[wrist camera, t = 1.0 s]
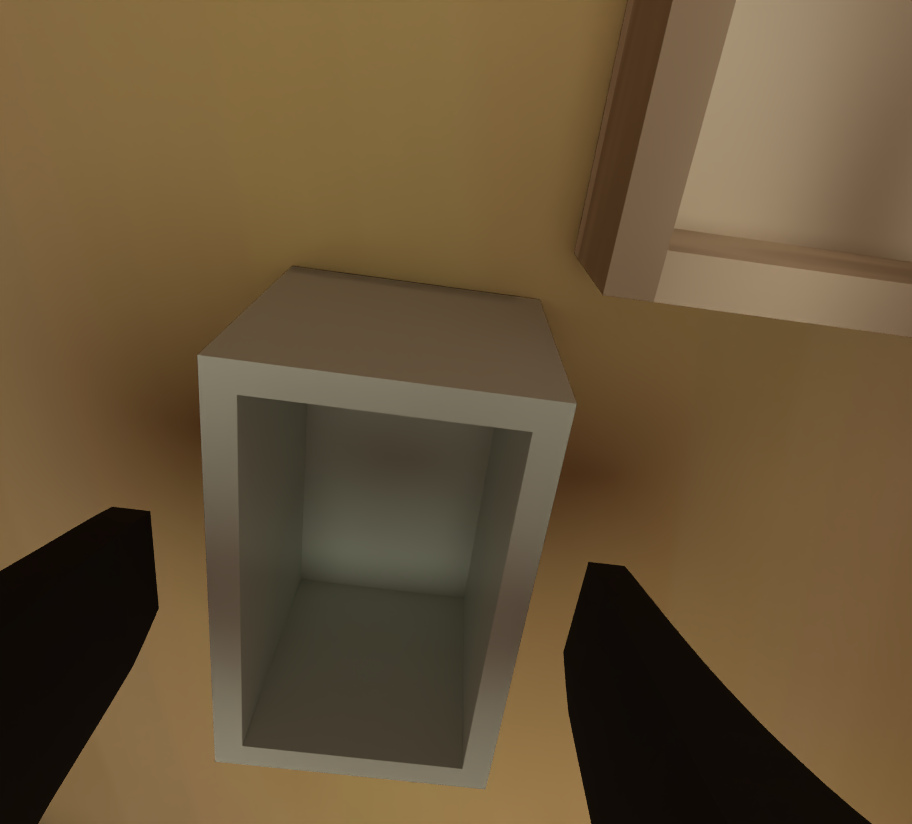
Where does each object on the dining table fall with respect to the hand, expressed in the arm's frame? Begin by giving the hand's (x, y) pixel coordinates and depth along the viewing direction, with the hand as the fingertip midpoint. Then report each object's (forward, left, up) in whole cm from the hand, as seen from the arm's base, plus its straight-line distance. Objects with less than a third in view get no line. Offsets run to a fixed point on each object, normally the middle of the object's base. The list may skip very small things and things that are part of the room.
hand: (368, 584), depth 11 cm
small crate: (0, 0, -4) cm, 4 cm away
